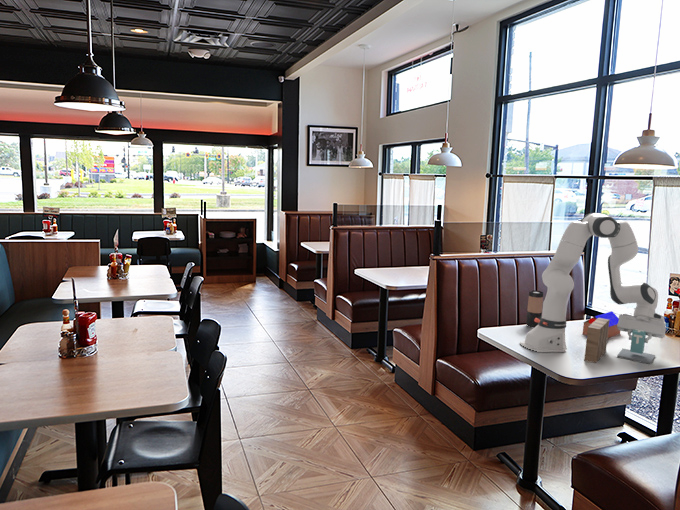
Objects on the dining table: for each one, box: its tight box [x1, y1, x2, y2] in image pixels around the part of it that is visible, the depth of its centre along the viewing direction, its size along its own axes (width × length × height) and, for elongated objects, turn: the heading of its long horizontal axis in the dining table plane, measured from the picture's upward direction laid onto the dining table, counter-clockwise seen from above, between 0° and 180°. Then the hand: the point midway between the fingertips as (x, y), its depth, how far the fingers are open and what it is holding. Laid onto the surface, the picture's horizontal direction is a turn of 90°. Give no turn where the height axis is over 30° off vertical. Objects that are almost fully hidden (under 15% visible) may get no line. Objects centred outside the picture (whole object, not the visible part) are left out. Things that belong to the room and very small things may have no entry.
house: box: [582, 311, 621, 339], centre depth 284 cm, size 12×20×12 cm, turn 128°
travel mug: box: [526, 289, 544, 329], centre depth 294 cm, size 8×8×20 cm
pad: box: [616, 348, 656, 365], centre depth 248 cm, size 14×14×1 cm
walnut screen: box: [584, 318, 609, 364], centre depth 247 cm, size 22×5×16 cm, turn 142°
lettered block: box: [629, 329, 647, 354], centre depth 247 cm, size 5×5×10 cm
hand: (638, 340), depth 247 cm, fingers closed on lettered block, 5 cm apart
